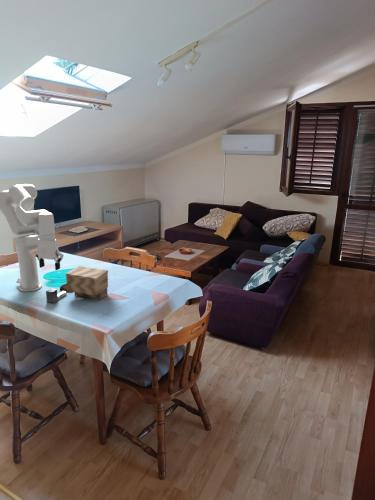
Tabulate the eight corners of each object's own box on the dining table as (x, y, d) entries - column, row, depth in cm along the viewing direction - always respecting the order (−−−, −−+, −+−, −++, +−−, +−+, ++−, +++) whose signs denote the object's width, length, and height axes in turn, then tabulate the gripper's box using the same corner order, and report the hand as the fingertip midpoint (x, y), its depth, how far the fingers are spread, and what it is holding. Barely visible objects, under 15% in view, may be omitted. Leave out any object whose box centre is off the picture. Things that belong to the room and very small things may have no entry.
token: (73, 300, 199) (73, 297, 198) (78, 296, 204) (78, 294, 203) (81, 301, 198) (81, 298, 197) (86, 298, 202) (86, 295, 202)
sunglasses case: (72, 293, 207) (66, 283, 206) (63, 297, 209) (57, 287, 208) (89, 282, 223) (84, 272, 222) (81, 286, 226) (76, 277, 225)
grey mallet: (46, 303, 194) (45, 291, 192) (61, 293, 206) (61, 282, 204) (53, 304, 193) (52, 292, 191) (67, 294, 205) (67, 283, 203)
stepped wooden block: (67, 298, 200) (65, 273, 195) (80, 289, 212) (79, 266, 207) (96, 304, 195) (95, 278, 190) (108, 294, 207) (108, 270, 202)
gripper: (28, 236, 183) (31, 268, 188) (57, 240, 178) (59, 272, 183) (38, 233, 190) (40, 263, 195) (66, 236, 185) (68, 268, 190)
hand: (49, 268), depth 189 cm, fingers open, 9 cm apart
